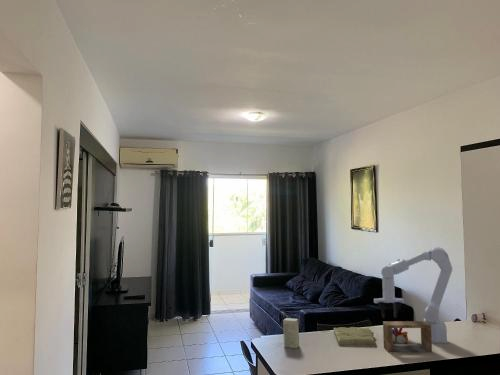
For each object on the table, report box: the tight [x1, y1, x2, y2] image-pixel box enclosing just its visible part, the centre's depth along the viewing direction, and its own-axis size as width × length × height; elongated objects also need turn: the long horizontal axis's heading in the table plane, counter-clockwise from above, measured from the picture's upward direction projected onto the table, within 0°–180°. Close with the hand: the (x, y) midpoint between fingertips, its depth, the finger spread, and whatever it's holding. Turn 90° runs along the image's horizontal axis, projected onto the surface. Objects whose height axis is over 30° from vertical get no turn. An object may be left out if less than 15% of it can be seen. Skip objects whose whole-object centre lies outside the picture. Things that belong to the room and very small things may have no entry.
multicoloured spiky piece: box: [392, 328, 409, 344], centre depth 180 cm, size 8×10×7 cm
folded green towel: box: [333, 326, 377, 347], centre depth 184 cm, size 19×20×4 cm
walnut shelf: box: [382, 320, 433, 354], centre depth 169 cm, size 19×7×12 cm, turn 90°
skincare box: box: [282, 317, 300, 349], centre depth 175 cm, size 6×4×12 cm
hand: (389, 317), depth 191 cm, fingers open, 5 cm apart
